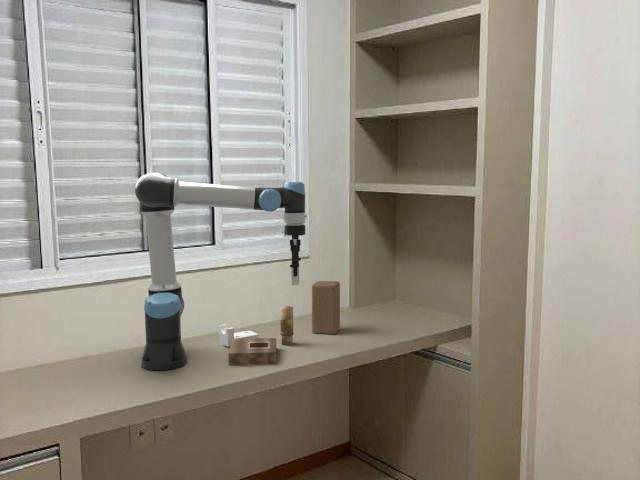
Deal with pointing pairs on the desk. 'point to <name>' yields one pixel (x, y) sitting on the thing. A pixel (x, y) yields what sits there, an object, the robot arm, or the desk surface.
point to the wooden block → (326, 307)
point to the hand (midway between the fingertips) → (295, 281)
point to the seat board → (252, 351)
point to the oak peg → (286, 325)
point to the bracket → (233, 335)
